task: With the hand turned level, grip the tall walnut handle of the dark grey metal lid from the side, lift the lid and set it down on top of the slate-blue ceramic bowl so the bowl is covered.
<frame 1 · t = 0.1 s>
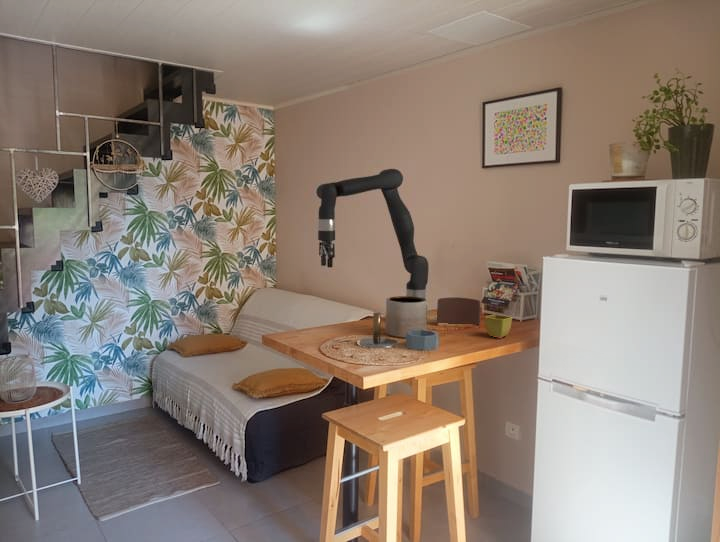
hand: (326, 266, 241), 29 cm above the table, tool pointing down, fingers open, 8 cm apart
lid: (376, 344, 223), on the table
planter: (405, 334, 240), on the table
bowl: (422, 346, 219), on the table
letter holder: (458, 325, 261), on the table
flower pot: (497, 337, 236), on the table
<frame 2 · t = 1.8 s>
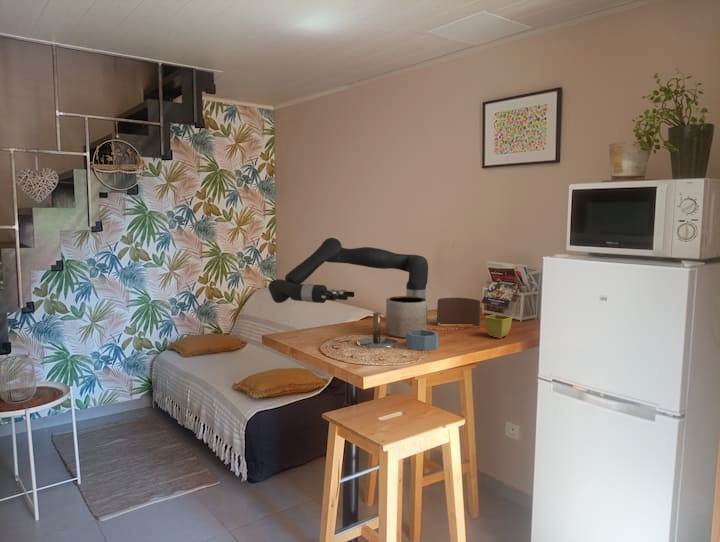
hand: (350, 295, 224), 19 cm above the table, tool horizontal, fingers open, 8 cm apart
nothing on the table moved.
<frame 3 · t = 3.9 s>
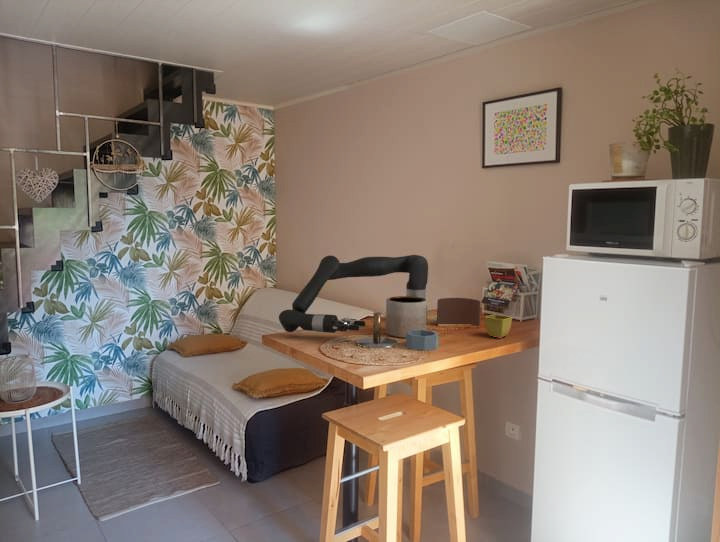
hand: (361, 325, 224), 7 cm above the table, tool horizontal, fingers open, 8 cm apart
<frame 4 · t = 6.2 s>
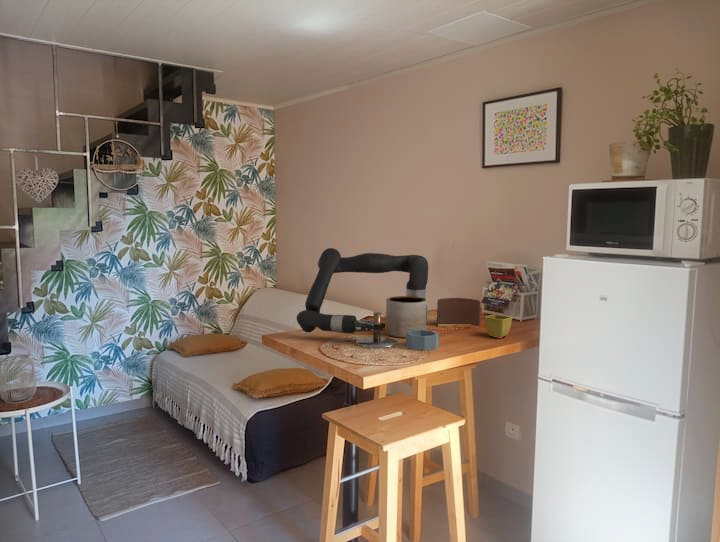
hand: (383, 326, 221), 7 cm above the table, tool horizontal, fingers closed on lid, 3 cm apart
lid: (376, 343, 223), on the table, touching gripper
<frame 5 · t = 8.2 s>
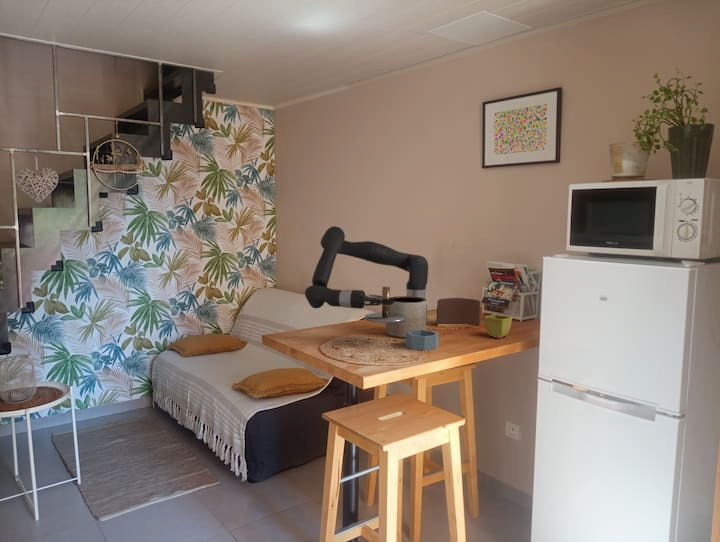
hand: (392, 301, 220), 18 cm above the table, tool horizontal, fingers closed on lid, 3 cm apart
lid: (385, 318, 221), point 11 cm above the table, touching gripper
when the fingers open (14 cm above the table, at t = 10.1 s): lid drops 1 cm, resting on bowl.
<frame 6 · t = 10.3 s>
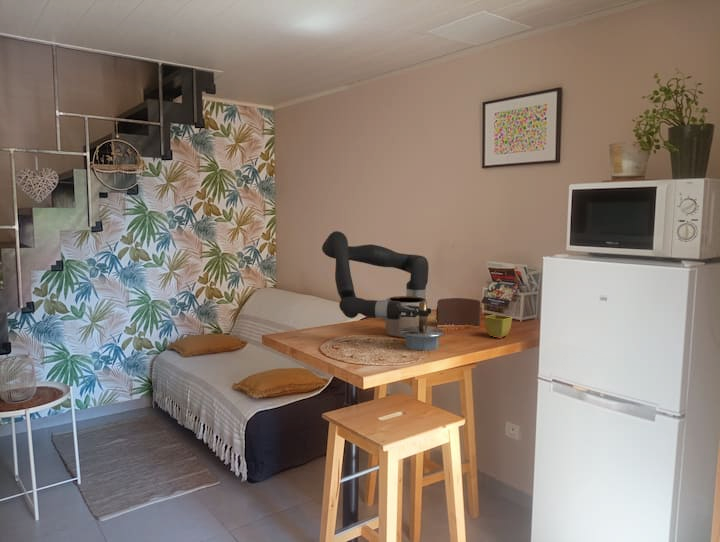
hand: (429, 312, 216), 14 cm above the table, tool horizontal, fingers open, 5 cm apart
lid: (422, 333, 218), point 5 cm above the table, touching bowl
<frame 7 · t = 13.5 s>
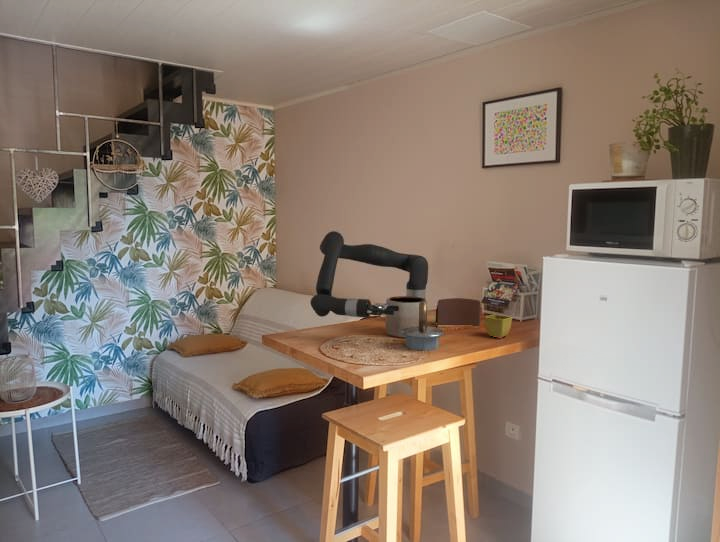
hand: (396, 310, 220), 14 cm above the table, tool horizontal, fingers open, 8 cm apart
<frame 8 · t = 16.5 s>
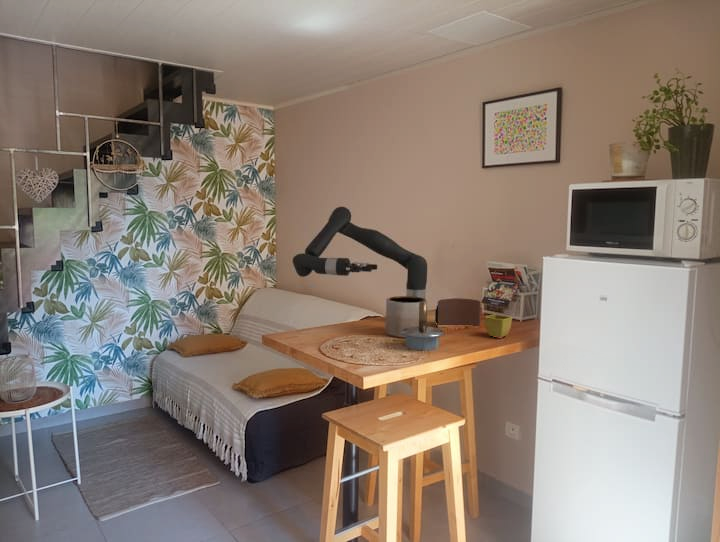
hand: (374, 268, 229), 30 cm above the table, tool horizontal, fingers open, 8 cm apart
at the end: lid 0.1 cm off-centre on the bowl, point 5.5 cm above the bowl's base; lid tilted 0°; the gripper is holding nothing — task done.
